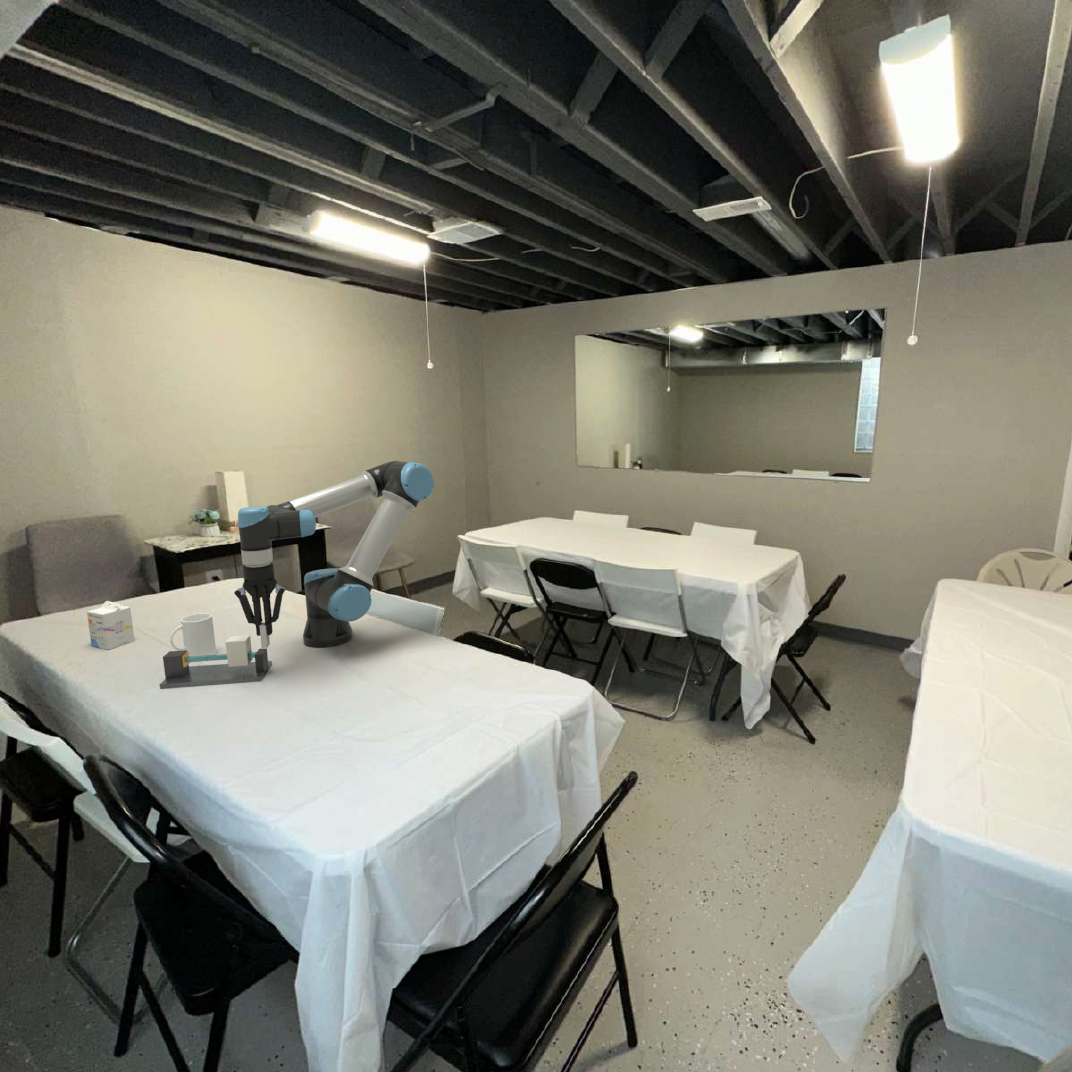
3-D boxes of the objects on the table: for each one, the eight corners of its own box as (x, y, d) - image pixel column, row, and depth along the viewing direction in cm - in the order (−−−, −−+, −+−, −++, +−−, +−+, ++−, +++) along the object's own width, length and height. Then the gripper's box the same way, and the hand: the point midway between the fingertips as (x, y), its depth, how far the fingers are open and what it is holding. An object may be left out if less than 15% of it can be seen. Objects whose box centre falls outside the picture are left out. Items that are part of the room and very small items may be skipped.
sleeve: (252, 659, 160) (250, 635, 159) (247, 665, 156) (245, 640, 155) (233, 660, 160) (230, 636, 158) (228, 666, 156) (225, 641, 154)
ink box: (90, 646, 179) (84, 605, 177) (118, 637, 187) (112, 598, 184) (108, 650, 176) (101, 609, 173) (135, 641, 184) (130, 601, 181)
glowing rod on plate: (272, 664, 165) (269, 640, 164) (260, 681, 154) (258, 655, 153) (178, 671, 161) (175, 646, 159) (160, 688, 150) (156, 662, 149)
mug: (176, 666, 164) (171, 627, 162) (168, 658, 170) (163, 620, 168) (221, 655, 172) (216, 617, 170) (212, 647, 178) (207, 611, 176)
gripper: (286, 559, 159) (293, 639, 163) (236, 561, 156) (245, 642, 161) (280, 566, 151) (287, 649, 156) (227, 568, 149) (236, 652, 153)
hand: (265, 645), depth 158 cm, fingers closed
